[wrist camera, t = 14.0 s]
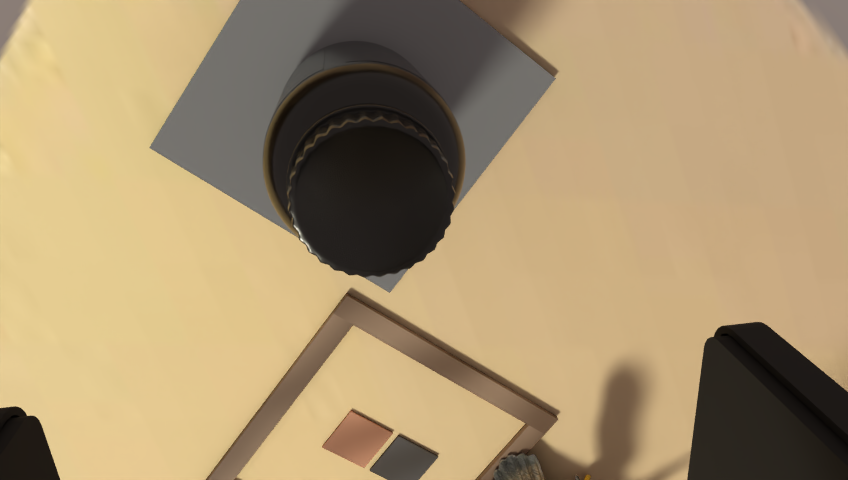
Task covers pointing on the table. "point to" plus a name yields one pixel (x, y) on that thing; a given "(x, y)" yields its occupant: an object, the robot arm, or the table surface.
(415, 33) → the mat
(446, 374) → the frame
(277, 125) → the supplement bottle
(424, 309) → the table surface
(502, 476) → the eagle figurine
